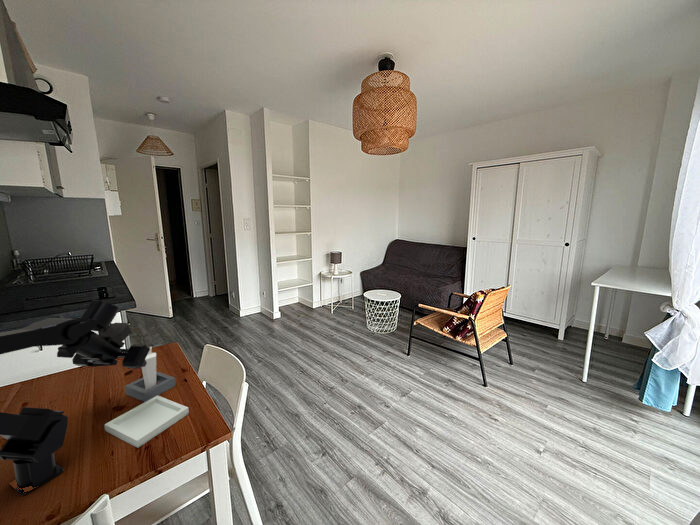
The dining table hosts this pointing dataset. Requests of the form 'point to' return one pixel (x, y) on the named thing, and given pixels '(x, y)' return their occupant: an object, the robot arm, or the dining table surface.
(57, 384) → the dining table surface
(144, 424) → the tray
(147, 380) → the perfume bottle
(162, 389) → the bottle collar
